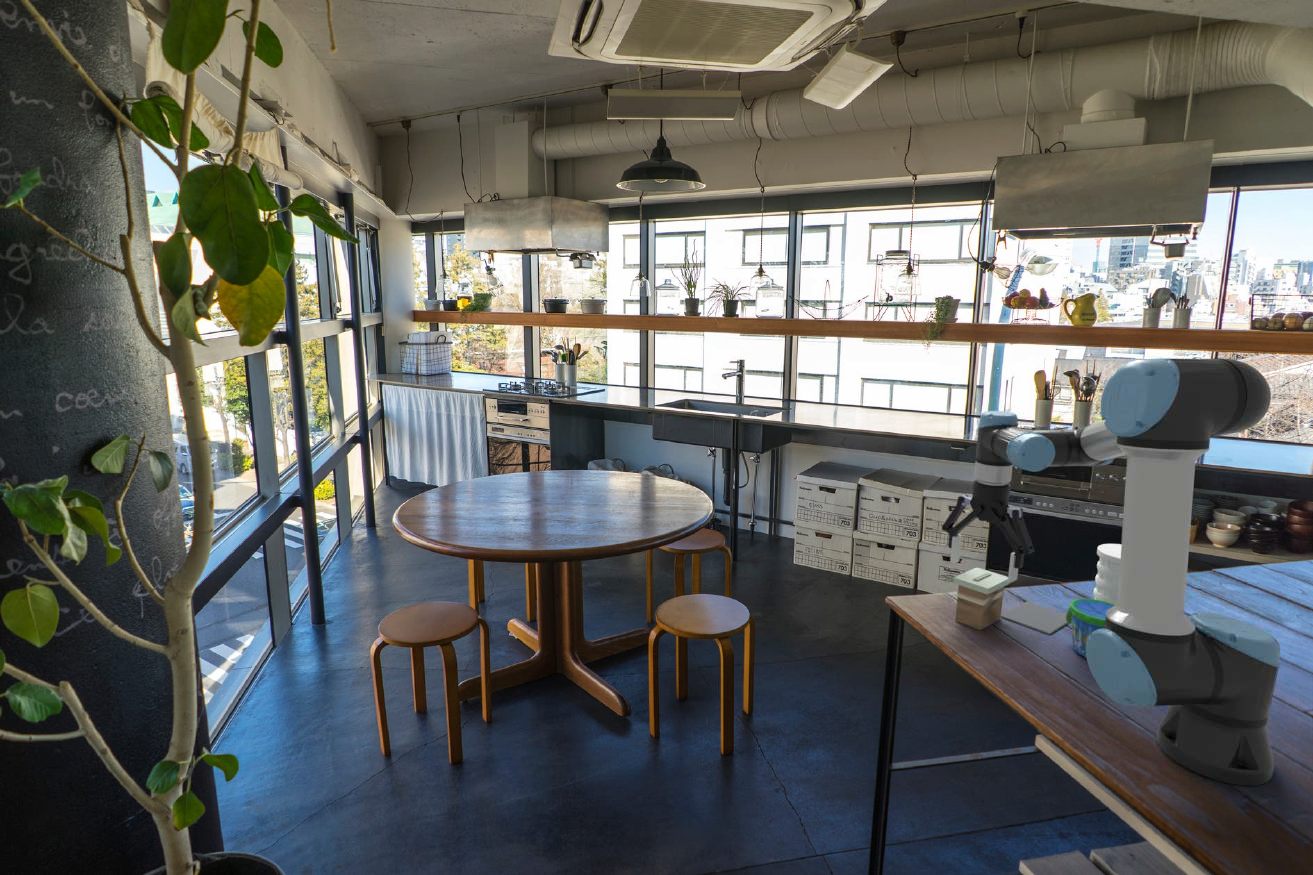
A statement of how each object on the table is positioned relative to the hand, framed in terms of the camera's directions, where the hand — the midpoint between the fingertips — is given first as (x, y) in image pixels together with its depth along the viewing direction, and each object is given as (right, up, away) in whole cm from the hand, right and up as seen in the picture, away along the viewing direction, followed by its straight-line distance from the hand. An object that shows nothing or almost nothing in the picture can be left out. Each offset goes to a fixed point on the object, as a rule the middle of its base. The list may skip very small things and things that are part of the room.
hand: (982, 571), depth 163 cm
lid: (0, -3, 0) cm, 3 cm away
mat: (+14, -11, +3) cm, 19 cm away
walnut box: (0, -12, +2) cm, 12 cm away
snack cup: (+17, -15, -13) cm, 26 cm away
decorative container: (+29, -13, -1) cm, 32 cm away
